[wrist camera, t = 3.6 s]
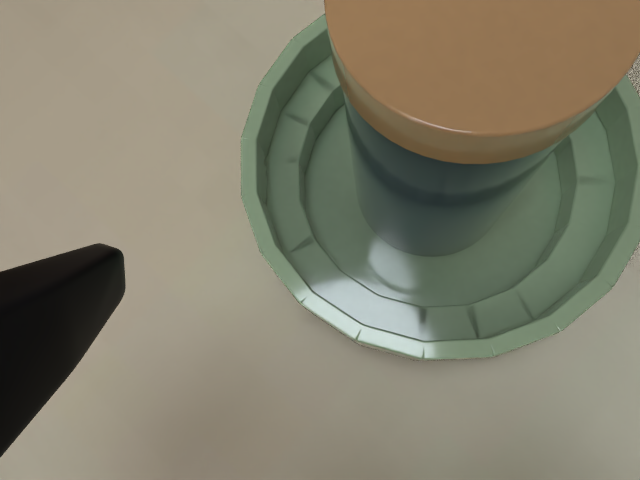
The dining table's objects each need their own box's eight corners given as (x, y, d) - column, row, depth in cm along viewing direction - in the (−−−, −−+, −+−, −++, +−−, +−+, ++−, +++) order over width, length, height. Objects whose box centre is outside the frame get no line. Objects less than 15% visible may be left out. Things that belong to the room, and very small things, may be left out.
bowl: (680, 209, 21) (750, 172, 17) (408, 436, 21) (415, 453, 17) (444, -14, 25) (456, -89, 21) (203, 172, 24) (166, 132, 20)
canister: (542, 194, 22) (731, -8, 10) (421, 292, 21) (471, 203, 10) (436, 86, 23) (495, -196, 11) (322, 177, 23) (262, -21, 11)
